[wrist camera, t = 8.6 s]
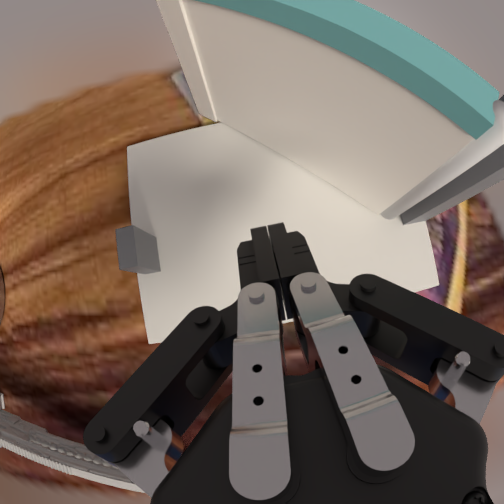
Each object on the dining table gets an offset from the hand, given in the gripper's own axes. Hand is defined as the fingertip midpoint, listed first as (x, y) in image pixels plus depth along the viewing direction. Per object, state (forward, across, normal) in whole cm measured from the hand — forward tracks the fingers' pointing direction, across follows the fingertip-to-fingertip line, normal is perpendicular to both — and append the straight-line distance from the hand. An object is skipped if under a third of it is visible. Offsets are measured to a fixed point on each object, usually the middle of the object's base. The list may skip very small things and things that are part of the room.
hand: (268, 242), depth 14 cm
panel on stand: (+8, -1, +3) cm, 8 cm away
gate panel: (+9, -4, 0) cm, 10 cm away
